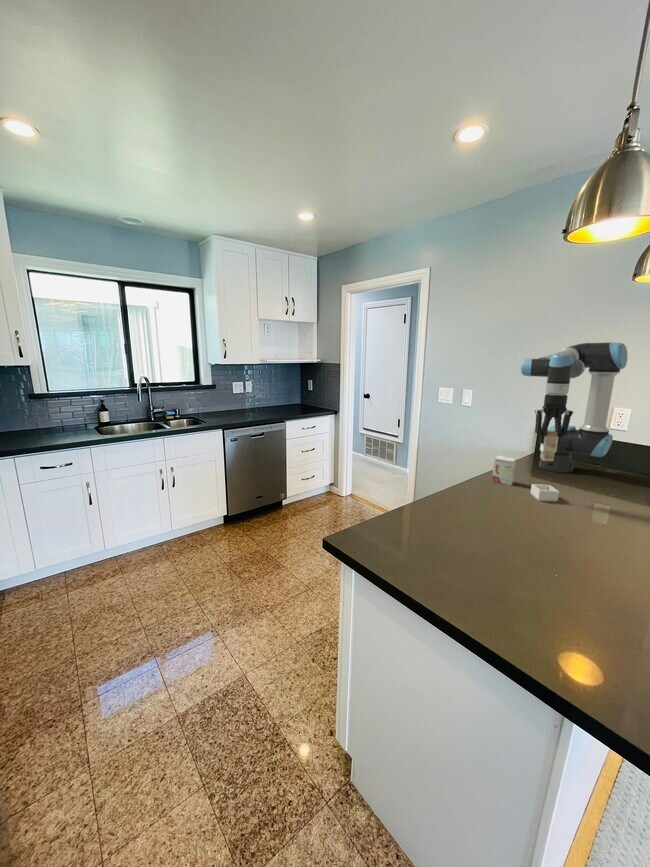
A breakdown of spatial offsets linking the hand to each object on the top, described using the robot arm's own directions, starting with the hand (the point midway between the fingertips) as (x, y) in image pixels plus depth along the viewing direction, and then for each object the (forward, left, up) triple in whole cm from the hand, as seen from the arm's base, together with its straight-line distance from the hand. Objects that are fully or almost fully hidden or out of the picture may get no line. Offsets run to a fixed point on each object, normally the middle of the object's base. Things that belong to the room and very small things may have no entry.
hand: (547, 451), depth 143 cm
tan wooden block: (0, 0, -4) cm, 4 cm away
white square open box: (0, +1, -20) cm, 20 cm away
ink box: (-18, -9, -20) cm, 29 cm away
